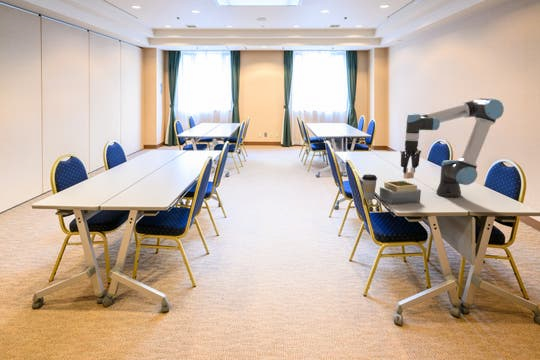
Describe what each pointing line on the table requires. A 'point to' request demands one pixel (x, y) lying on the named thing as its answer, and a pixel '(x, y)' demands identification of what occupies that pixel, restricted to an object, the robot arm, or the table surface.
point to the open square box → (399, 193)
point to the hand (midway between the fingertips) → (408, 178)
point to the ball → (409, 175)
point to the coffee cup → (369, 186)
